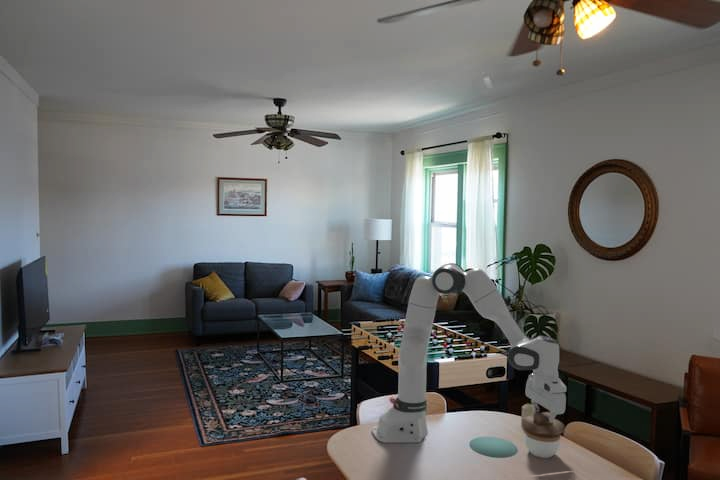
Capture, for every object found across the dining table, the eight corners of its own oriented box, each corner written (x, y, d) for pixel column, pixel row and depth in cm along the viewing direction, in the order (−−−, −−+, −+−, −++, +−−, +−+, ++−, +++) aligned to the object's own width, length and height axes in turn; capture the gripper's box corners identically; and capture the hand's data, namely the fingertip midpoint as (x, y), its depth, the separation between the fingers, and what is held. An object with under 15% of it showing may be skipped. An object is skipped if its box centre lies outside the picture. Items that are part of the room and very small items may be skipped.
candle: (535, 431, 230) (536, 407, 229) (521, 429, 231) (522, 406, 231) (534, 426, 236) (535, 402, 235) (520, 424, 237) (521, 401, 236)
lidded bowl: (559, 465, 201) (561, 435, 200) (523, 459, 205) (524, 430, 204) (558, 450, 213) (560, 422, 212) (524, 445, 217) (525, 417, 216)
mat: (483, 461, 202) (483, 459, 202) (461, 440, 220) (461, 438, 220) (527, 456, 207) (527, 454, 207) (502, 436, 225) (502, 434, 224)
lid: (536, 436, 199) (537, 424, 198) (514, 419, 213) (514, 408, 213) (573, 432, 203) (573, 420, 203) (548, 416, 217) (549, 405, 217)
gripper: (522, 372, 216) (520, 407, 217) (554, 390, 196) (552, 428, 197) (536, 371, 218) (534, 405, 219) (569, 389, 198) (567, 427, 199)
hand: (543, 416), depth 208 cm, fingers open, 8 cm apart
